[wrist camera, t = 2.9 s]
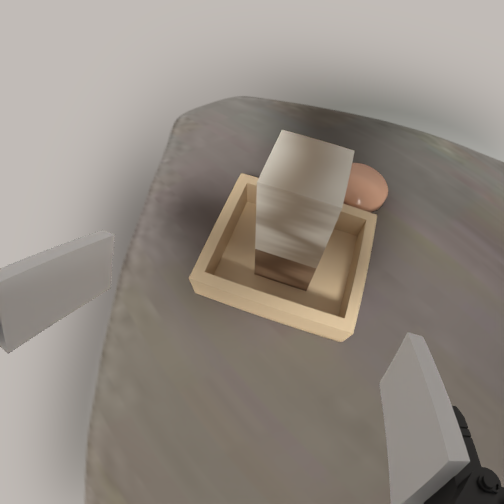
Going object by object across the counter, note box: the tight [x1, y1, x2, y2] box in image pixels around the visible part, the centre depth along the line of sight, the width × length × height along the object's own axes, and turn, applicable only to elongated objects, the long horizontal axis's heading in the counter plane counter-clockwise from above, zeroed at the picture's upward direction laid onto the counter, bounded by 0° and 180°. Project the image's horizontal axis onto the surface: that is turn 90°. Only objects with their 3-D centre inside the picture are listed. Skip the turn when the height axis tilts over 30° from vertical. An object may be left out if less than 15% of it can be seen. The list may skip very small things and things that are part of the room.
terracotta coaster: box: [343, 163, 388, 212], centre depth 34 cm, size 6×6×1 cm
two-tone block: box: [254, 130, 355, 291], centre depth 24 cm, size 5×5×13 cm
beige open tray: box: [189, 173, 377, 342], centre depth 29 cm, size 14×12×4 cm
